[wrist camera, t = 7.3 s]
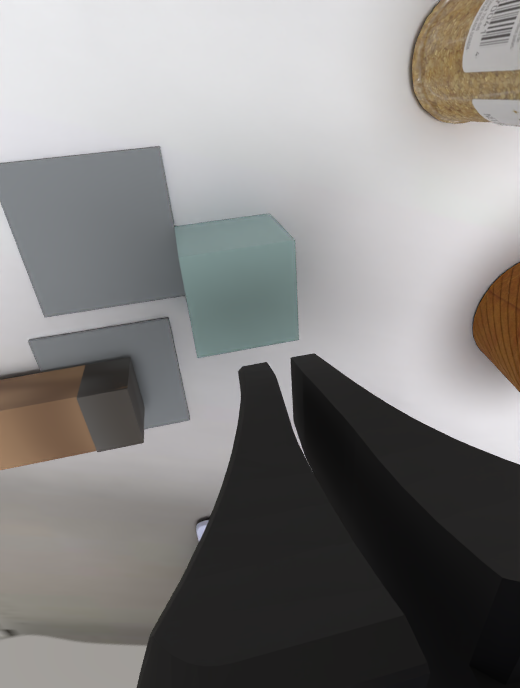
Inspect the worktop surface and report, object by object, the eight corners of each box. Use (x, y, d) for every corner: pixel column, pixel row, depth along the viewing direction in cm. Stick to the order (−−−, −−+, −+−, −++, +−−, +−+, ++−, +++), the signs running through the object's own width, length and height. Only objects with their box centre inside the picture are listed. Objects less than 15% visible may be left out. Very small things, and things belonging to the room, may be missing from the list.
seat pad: (186, 293, 19) (186, 295, 19) (45, 315, 18) (44, 317, 18) (159, 146, 16) (159, 146, 16) (-12, 164, 15) (-14, 165, 15)
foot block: (274, 298, 20) (298, 339, 17) (190, 312, 20) (197, 358, 16) (268, 213, 18) (294, 240, 15) (174, 226, 17) (178, 257, 14)
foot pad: (189, 418, 22) (189, 420, 22) (71, 441, 22) (71, 443, 21) (168, 317, 19) (168, 318, 19) (29, 339, 18) (28, 341, 18)
